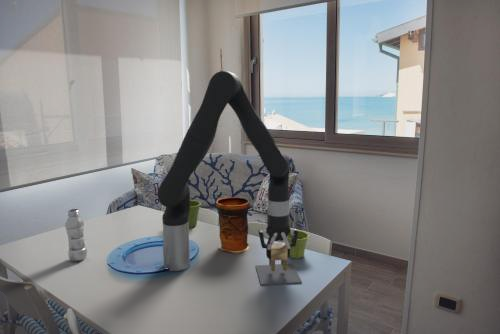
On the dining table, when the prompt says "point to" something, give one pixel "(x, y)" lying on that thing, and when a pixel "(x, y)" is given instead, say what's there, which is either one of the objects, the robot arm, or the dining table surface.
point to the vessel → (233, 223)
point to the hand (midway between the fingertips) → (278, 257)
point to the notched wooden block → (278, 255)
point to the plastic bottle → (75, 236)
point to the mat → (277, 275)
